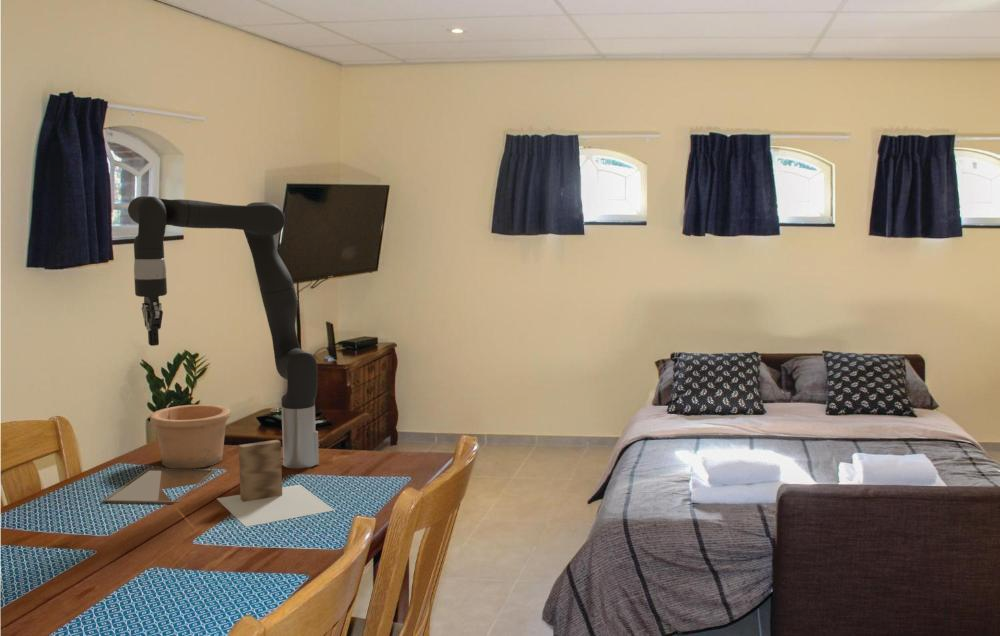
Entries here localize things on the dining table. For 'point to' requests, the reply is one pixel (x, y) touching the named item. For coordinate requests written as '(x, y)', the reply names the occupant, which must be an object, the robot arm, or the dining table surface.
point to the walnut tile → (260, 470)
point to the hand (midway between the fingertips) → (153, 345)
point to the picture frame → (157, 485)
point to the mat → (275, 506)
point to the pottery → (190, 435)
